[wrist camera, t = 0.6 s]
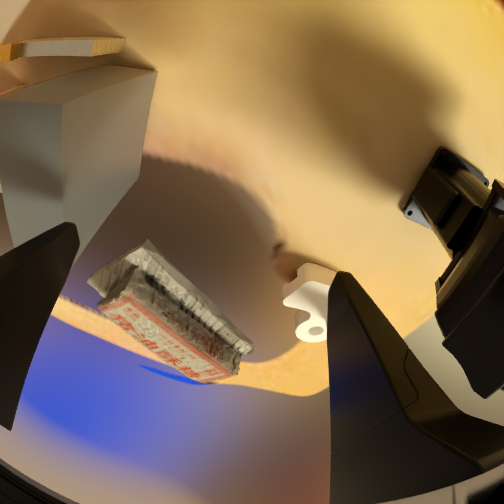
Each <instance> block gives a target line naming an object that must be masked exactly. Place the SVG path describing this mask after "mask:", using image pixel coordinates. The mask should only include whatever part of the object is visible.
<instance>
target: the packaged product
mask: <svg viewBox="0 0 504 504" xmlns="http://www.w3.org/2000/svg"><path fill="white" fill-rule="evenodd" d="M87 283H88V284H89V285H91V286H92V287H94V288H95V289H96V290H97V291H98V293H99V294H100V295H102V296H103V297H104V299H102V300H101V301H100V302H99V303H98V304H97V307H98V309H99V310H101V312H102V313H104V314H105V315H106V316H107V317H108V318H110V319H111V320H112V321H113V322H114V323H115V324H117V325H118V326H119V327H120V328H122V329H123V330H125V332H126V333H128V334H129V335H131V336H132V337H133V338H134V339H136V340H137V341H138V342H140V343H141V344H142V345H144V346H145V347H146V348H148V349H149V350H150V351H152V352H153V353H155V354H156V355H157V356H158V357H160V358H161V359H162V360H164V361H166V362H167V363H168V364H170V365H171V366H173V367H174V368H176V369H177V370H178V371H179V372H182V373H183V374H184V375H186V376H187V377H189V378H190V379H192V380H195V381H197V382H201V383H206V382H211V381H214V380H221V379H225V378H229V377H234V376H235V375H238V371H239V369H240V368H239V364H240V361H241V356H242V355H245V354H249V355H250V354H251V353H252V352H253V348H254V343H253V342H252V341H251V340H250V339H249V338H247V337H246V336H245V335H244V334H243V333H242V332H241V331H240V330H238V328H237V327H236V326H235V325H234V324H233V323H232V322H231V321H230V320H229V319H228V318H227V317H226V316H225V315H224V314H223V313H222V312H221V311H220V309H219V308H218V307H217V306H216V305H215V304H214V303H213V302H212V301H211V300H210V299H209V298H208V297H207V296H206V295H205V294H204V293H202V292H201V291H200V290H199V289H198V288H197V287H195V286H194V285H193V284H192V283H191V282H190V281H189V280H188V279H187V278H186V277H185V276H184V275H182V273H181V272H179V270H178V269H177V268H176V267H174V266H173V265H172V264H171V263H170V262H169V261H168V260H167V259H166V258H165V257H164V256H163V255H162V254H161V253H160V251H159V250H157V248H156V247H155V246H154V245H153V244H152V243H151V242H150V241H149V240H148V239H146V240H145V241H143V242H141V243H140V244H138V245H136V246H135V247H133V248H132V249H130V250H129V251H127V252H125V253H124V254H122V255H121V256H119V257H117V258H116V259H114V260H112V261H111V262H109V263H108V264H106V265H105V266H103V267H101V268H100V269H98V270H97V271H96V272H95V273H93V274H92V275H91V276H90V278H89V279H88V280H87Z"/></svg>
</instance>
